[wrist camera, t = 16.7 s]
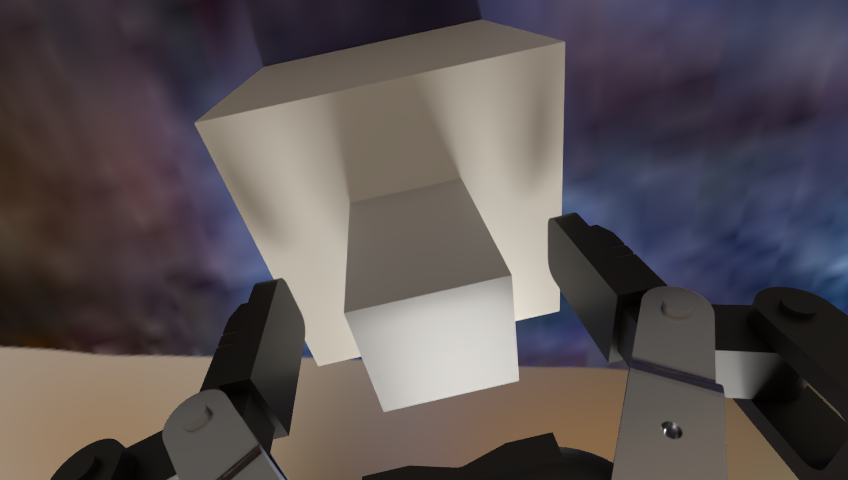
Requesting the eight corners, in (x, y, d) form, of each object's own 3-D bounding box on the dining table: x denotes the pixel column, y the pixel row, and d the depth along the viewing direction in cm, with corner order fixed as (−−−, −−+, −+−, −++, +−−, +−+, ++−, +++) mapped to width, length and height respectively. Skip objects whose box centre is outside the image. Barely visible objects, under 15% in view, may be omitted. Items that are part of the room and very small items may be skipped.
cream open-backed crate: (481, 19, 18) (696, 76, 6) (498, 210, 24) (627, 422, 12) (263, 66, 18) (83, 212, 6) (331, 247, 23) (303, 498, 12)
